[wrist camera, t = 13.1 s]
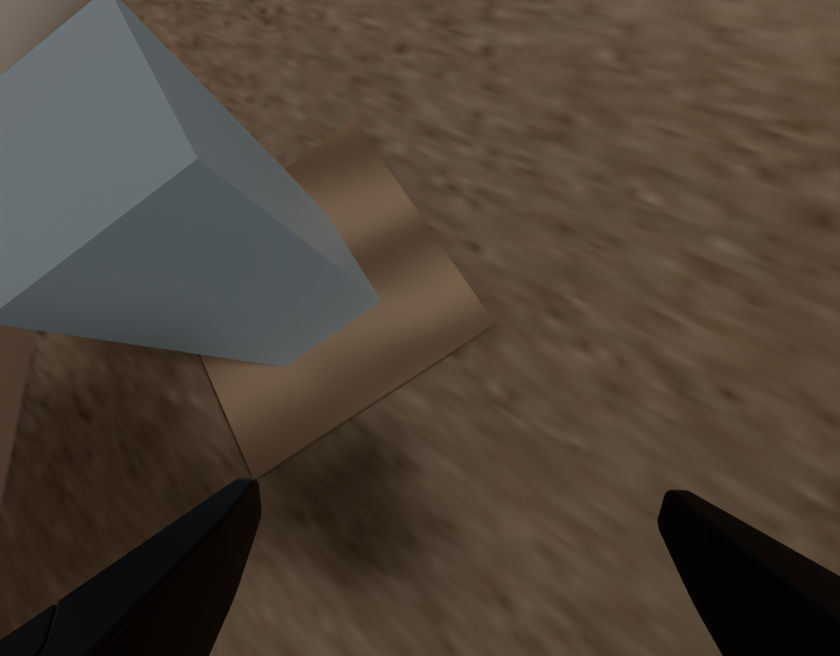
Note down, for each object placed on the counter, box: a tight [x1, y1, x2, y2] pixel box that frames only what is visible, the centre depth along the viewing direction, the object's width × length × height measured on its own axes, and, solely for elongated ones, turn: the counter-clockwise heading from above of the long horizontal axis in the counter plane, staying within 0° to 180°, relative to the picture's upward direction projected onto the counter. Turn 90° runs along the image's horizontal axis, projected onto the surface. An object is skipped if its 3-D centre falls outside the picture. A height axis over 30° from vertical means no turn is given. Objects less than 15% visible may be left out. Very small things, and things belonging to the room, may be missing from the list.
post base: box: [200, 119, 495, 479], centre depth 19 cm, size 14×14×5 cm
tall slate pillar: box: [0, 0, 381, 367], centre depth 15 cm, size 6×6×12 cm
